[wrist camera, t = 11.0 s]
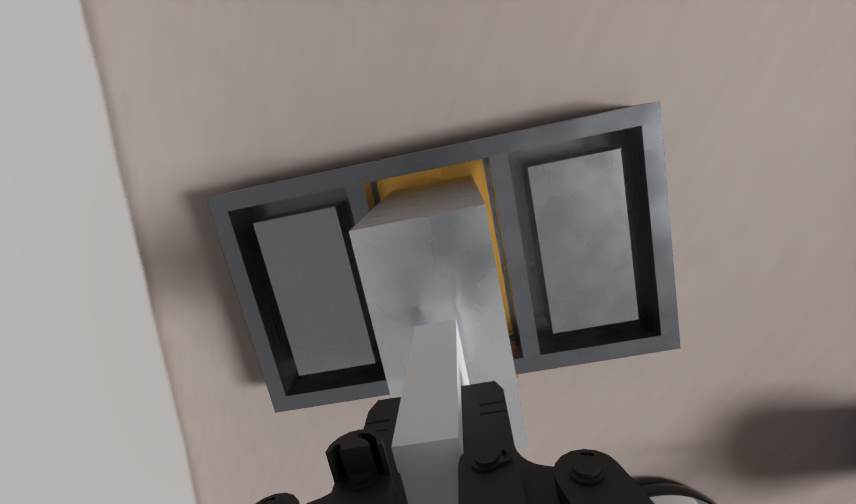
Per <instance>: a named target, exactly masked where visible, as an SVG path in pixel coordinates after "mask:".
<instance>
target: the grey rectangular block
mask: <svg viewBox="0 0 856 504" xmlns="http://www.w3.org/2000/svg"><path fill="white" fill-rule="evenodd" d="M349 235H350V238H351V242H352V246H353V250H354V254H355V258H356V262H357V266H358V270H359V274H360V278H361V282H362V286H363V290H364V294H365V298H366V301H367V305H368V309H369V313H370V317H371V321H372V325H373V329H374V333H375V337H376V341H377V345H378V349H379V353H380V357H381V361H382V364H383V368H384V372H385V376H386V380H387V384H388V388H389V392H390V396H391V398H396V397H401V395H402V390H403V385H404V380H405V375H406V370H407V365H408V360H409V355H410V350H411V344H412V339H413V334H414V329H415V326H420V325H426V324H432V323H437V322H443V321H449V320H455V319H456V321H457V326H458V331H459V336H460V341H461V346H462V350H463V355H464V360H465V365H466V370H467V375H468V379H469V384H477V383H483V382H489V381H495V382H496V383H497V384H499V385H500V386H501V387H502V388H503V389H504V394H505V399H506V404H507V409H508V414H509V419H510V424H511V429H512V434H513V439H514V445H515V447H516V449H517V448H524V447H529V445H528V440H527V434H526V429H525V423H524V417H523V412H522V406H521V401H520V395H519V389H518V384H517V378H516V373H515V367H514V361H513V356H512V350H511V345H510V339H509V333H508V328H507V322H506V317H505V311H504V306H503V300H502V294H501V289H500V283H499V278H498V272H497V266H496V261H495V255H494V250H493V244H492V238H491V233H490V227H489V222H488V216H487V211H486V205H485V202H484V200H483V198H482V196H481V194H480V192H479V190H478V187H477V185H476V183H475V181H474V179H473V177H472V175H469V176H464V177H459V178H454V179H449V180H444V181H440V182H435V183H430V184H425V185H420V186H415V187H410V188H405V189H400V190H396V191H391V192H390V193H389V194H388V195H387V196H386V197H385V198H384V199H383V200H382V201H381V202H380V203H378V204H377V205H376V206H375V207H374V208H373V209H372V210H371V211H370V212H369V213H368V214H367V215H366V216H365V217H364V218H362V219H361V220H360V221H359V222H358V223H357V224H356V225H355V226H354V227H353V228H352V229H351V230H350V231H349Z"/></svg>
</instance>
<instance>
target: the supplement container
mask: <svg viewBox="0 0 856 504" xmlns="http://www.w3.org/2000/svg"><path fill="white" fill-rule="evenodd" d="M639 487H640V488H641V489H642V490H643V491H644V492H645V493H646V495H647V496H648V497H649V498H650V499H651V500H652V501H653V502H654V503H655V504H717V503H715V502H714V501H713V500H712V499H710V498H709V497H708V496H706V495H704V494H703V493H701V492H699V491H697V490H694V489H692V488H689V487H686V486H682V485H678V484H672V483H651V484H645V485H640V486H639Z"/></svg>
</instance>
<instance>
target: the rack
mask: <svg viewBox="0 0 856 504" xmlns="http://www.w3.org/2000/svg"><path fill="white" fill-rule="evenodd" d="M469 175H472V177H473V179H474V181H475V183H476V185H477V187H478V190H479V192H480V194H481V196H482V198H483V200H484V202H485V205H486V211H487V216H488V222H489V227H490V233H491V238H492V244H493V250H494V255H495V261H496V266H497V272H498V278H499V283H500V289H501V294H502V300H503V306H504V311H505V317H506V322H507V328H508V333H509V339H510V345H511V350H512V356H513V361H514V367H515V373H516V377H518V374H522V373H528V372H534V371H540V370H547V369H553V368H559V367H566V366H572V365H578V364H585V363H591V362H597V361H603V360H610V359H616V358H622V357H629V356H635V355H641V354H648V353H654V352H660V351H666V350H673V349H679V348H680V336H679V324H678V312H677V300H676V288H675V276H674V264H673V252H672V240H671V228H670V216H669V204H668V192H667V180H666V168H665V156H664V144H663V132H662V120H661V108H660V101H659V102H653V103H647V104H640V105H634V106H629V107H624V108H620V109H615V110H610V111H605V112H601V113H596V114H591V115H587V116H582V117H577V118H572V119H568V120H563V121H558V122H554V123H549V124H544V125H539V126H535V127H530V128H525V129H521V130H516V131H511V132H506V133H502V134H497V135H492V136H488V137H483V138H478V139H473V140H469V141H464V142H459V143H455V144H450V145H445V146H440V147H436V148H431V149H426V150H422V151H417V152H412V153H407V154H403V155H398V156H393V157H389V158H384V159H379V160H375V161H370V162H365V163H360V164H356V165H351V166H346V167H342V168H337V169H332V170H327V171H323V172H318V173H313V174H309V175H304V176H299V177H294V178H290V179H285V180H280V181H276V182H271V183H266V184H261V185H257V186H252V187H247V188H243V189H238V190H233V191H230V192H226V193H222V194H218V195H214V196H210V197H206V200H207V203H208V206H209V210H210V213H211V216H212V219H213V222H214V225H215V228H216V231H217V234H218V237H219V240H220V243H221V247H222V250H223V253H224V256H225V259H226V262H227V265H228V268H229V271H230V274H231V277H232V280H233V284H234V287H235V290H236V293H237V296H238V299H239V302H240V305H241V308H242V311H243V314H244V317H245V321H246V324H247V327H248V330H249V333H250V336H251V339H252V342H253V345H254V348H255V351H256V354H257V357H258V361H259V364H260V367H261V370H262V373H263V376H264V379H265V382H266V385H267V388H268V391H269V394H270V398H271V401H272V404H273V407H274V410H275V413H276V412H282V411H288V410H295V409H301V408H307V407H314V406H320V405H326V404H333V403H339V402H345V401H351V400H358V399H364V398H370V397H377V396H383V395H389V394H390V392H389V388H388V384H387V380H386V376H385V372H384V368H383V364H382V361H381V357H380V353H379V349H378V345H377V341H376V337H375V333H374V329H373V325H372V321H371V317H370V313H369V309H368V305H367V301H366V298H365V294H364V290H363V286H362V282H361V278H360V274H359V270H358V266H357V262H356V258H355V254H354V250H353V246H352V242H351V238H350V235H349V231H350V230H351V229H352V228H353V227H354V226H355V225H356V224H357V223H358V222H359V221H360V220H361V219H362V218H364V217H365V216H366V215H367V214H368V213H369V212H370V211H371V210H372V209H373V208H374V207H375V206H376V205H377V204H378V203H380V202H381V201H382V200H383V199H384V198H385V197H386V196H387V195H388V194H389V193H390V192H391V191H396V190H400V189H405V188H410V187H415V186H420V185H425V184H430V183H435V182H440V181H444V180H449V179H454V178H459V177H464V176H469Z"/></svg>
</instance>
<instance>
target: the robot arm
mask: <svg viewBox="0 0 856 504" xmlns="http://www.w3.org/2000/svg"><path fill="white" fill-rule="evenodd" d="M325 453H326V456H327V459H328V463H329V466H330V469H331V473H332V476H333V479H334V482H335V484H334V487H333V490H332V492H331V493H330V494H328V495H326V496H324V497H322V498H320V499H317V500H315V501H312V502H309V503H307V504H655V503H654V502H653V501H652V500H651V499H650V498H649V497H648V496H647V495H646V493H645V492H644V491H643V490H642V489H641V488H640V487H639V486H638V485H637V483H636V482H635V481H634V480H633V479H632V478H631V477H630V476H629V475H628V473H627V472H626V471H625V470H624V469H623V468H622V467H621V466H620V465H619V463H618V462H617V461H615V460H614V459H613V458H611V457H610V456H609V455H607V454H605V453H602V452H599V451H596V450H587V449H581V450H575V451H570V452H568V453H567V454H565V455H563V456H561V457H560V458H559V459H558V461H557V462H556V463H555V466H554V467H552V466H544V465H539V464H535V463H532V462H530V461H527V460H526V459H525V458H523V457H522V456H521V455H520V454H519V453H518V452H517V450H516V447H515V445H514V439H513V434H512V429H511V424H510V419H509V414H508V409H507V404H506V399H505V394H504V389H503V388H502V387H501V386H500V385H499V384H497V383H496V382H495V381H489V382H483V383H477V384H469V379H468V375H467V370H466V365H465V360H464V355H463V350H462V346H461V341H460V336H459V331H458V326H457V321H456V319H455V320H449V321H443V322H437V323H432V324H426V325H420V326H415V329H414V334H413V339H412V344H411V350H410V355H409V360H408V365H407V370H406V375H405V380H404V385H403V390H402V395H401V397H396V398H390V399H384V400H378V401H377V403H376V404H375V405H374V406H373V407H372V408H371V409H370V411H369V412H368V416H367V419H366V422H365V425H364V429H363V430H356V431H353V432H349V433H347V434H345V435H343V436H341V437H339V438H338V439H337V440H335V441H334V442H333V443H332V444H331V445H330V446H329V448H328V449H327V451H326V452H325ZM256 504H300V503H299V500H298V499H297V498H296V497H295V496H294V495H292V494H288V493H279V494H274V495H271V496H269V497H266V498H264V499H262V500H261V501H259V502H257V503H256Z"/></svg>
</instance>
